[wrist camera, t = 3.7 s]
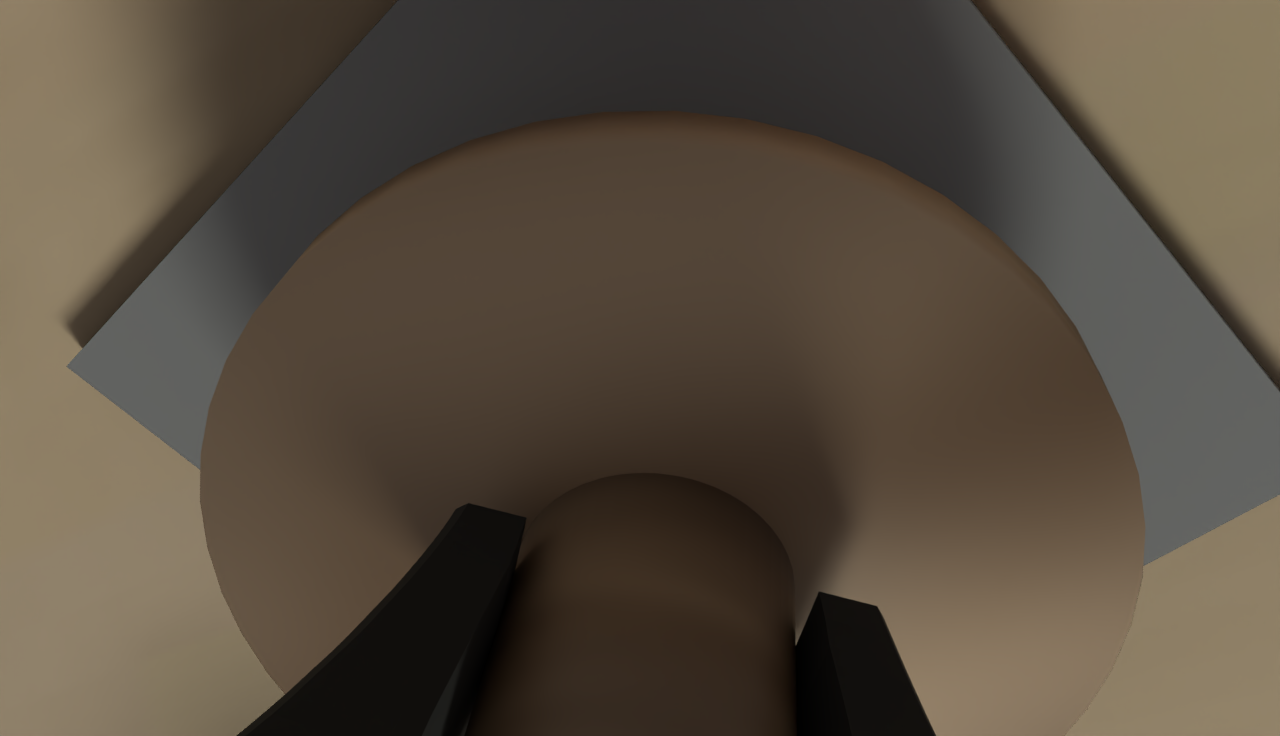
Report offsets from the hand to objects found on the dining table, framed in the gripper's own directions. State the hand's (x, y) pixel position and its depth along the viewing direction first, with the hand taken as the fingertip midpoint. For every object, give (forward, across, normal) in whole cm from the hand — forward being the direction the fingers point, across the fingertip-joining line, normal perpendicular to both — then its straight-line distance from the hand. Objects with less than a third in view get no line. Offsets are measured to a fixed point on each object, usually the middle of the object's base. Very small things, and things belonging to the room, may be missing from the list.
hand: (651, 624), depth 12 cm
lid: (+1, 0, 0) cm, 1 cm away
